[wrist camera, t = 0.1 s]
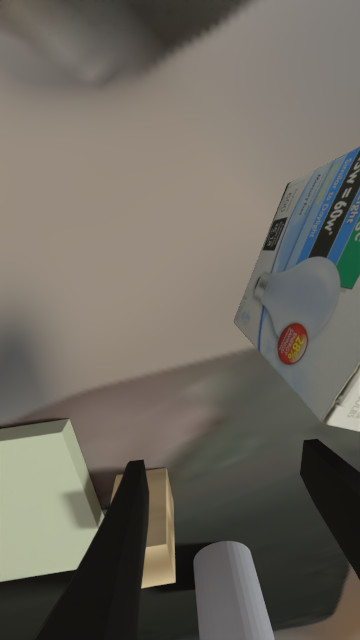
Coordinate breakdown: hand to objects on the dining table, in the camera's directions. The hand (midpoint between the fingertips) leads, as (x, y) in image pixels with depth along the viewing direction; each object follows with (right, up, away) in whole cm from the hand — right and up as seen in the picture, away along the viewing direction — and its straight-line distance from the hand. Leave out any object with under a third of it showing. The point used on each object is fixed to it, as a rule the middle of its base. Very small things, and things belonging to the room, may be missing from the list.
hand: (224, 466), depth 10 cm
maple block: (-6, -11, +13) cm, 18 cm away
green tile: (-18, -12, +12) cm, 24 cm away
